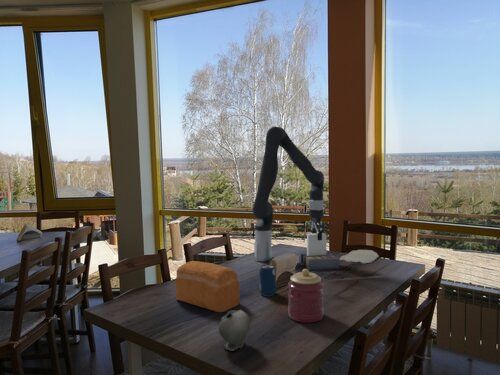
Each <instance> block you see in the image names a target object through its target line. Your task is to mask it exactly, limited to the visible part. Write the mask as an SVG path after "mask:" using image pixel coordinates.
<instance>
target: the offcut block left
mask: <svg viewBox="0 0 500 375" xmlns="http://www.w3.org/2000/svg"><path fill="white" fill-rule="evenodd" d="M315 259H322V258H320V257H319V256H312V257H306V267H307V268H308V269H309V260H315ZM306 267H305V268H306ZM307 268H306V269H307Z"/></svg>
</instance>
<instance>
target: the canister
mask: <svg viewBox="0 0 500 375" xmlns="http://www.w3.org/2000/svg"><path fill="white" fill-rule="evenodd" d="M289 280H290V281H289V282H288V283H287V286H288V289H289V290H288V292H287V295H288V307H287V313H288V318H290V319H291V320H293V321H295V322H299V323H308V324H309V323H315V322H316V323H317V322H319V321H321V320H322V319H323V317H324V313H325V312H324V296H325V294H324V292H323V288H324V283H323V282H321V281H322V277H321V276H319V275H318V274H317V273H314V272H310V270H308V269H307V268H303V269H302V271H299V272H296V273H294V274H293V275H291V276H290V278H289Z"/></svg>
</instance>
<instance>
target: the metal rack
mask: <svg viewBox="0 0 500 375" xmlns="http://www.w3.org/2000/svg"><path fill="white" fill-rule="evenodd" d="M328 255H333V256H334V254H332V253H331V254H330V252H329V251H326V255H312V256H319V257H320V256H328ZM312 256H307V252H306V253H300V264H301V265H303V266H304V267H305V269H308V268H307V267H306V257H312ZM331 269H332V270H333V269H340V257H337V258H330V259H315V260H309V269H308V270H309V271H317V270H331Z"/></svg>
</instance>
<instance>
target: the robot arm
mask: <svg viewBox="0 0 500 375" xmlns="http://www.w3.org/2000/svg"><path fill="white" fill-rule="evenodd" d="M264 146H265V148H264V152H263V153H264V154H263V158H262V163H261V168H260V172H259V173H260V175H259V180H258V186H257V192H256V195H255V199H254V202H253V205H252V214H253V216H254V217H255V218H256V219H257V221H256V223H255V226H254V239H255V240H254V243H253V244H254V260H255V261H256V262H268V261H272V260H271V259H273V258H272V257H273V256H272V252H273V251H272V227H273V222H274V221H273V220H274V210H273V209H274V208H273V206H272V203H271V202H270V201H269V198H270V195H271V192H272V190H273V188H274V185H276V181H277V177H278V172H279V161H278V154H279V148H280V147H281V148H282V149H283V150H284V152H286V154H287V155H288V157H289V158H290V160H291V161H292V163H293V164H294V166H296V167H297V168H298V170H299V171H301V173H302V175H303V176H304V177H305V178H306V180H307V181H308V182H309V183H310V185H311V187H310V190H309V204H308V206H309V208H308V209H309V210H308V213H309V215H308V217H309V229H310V230H311V234H315V233H317V239H318V240H322V233H325V229H324V227H325V225H324V220H321V219H322V218H324V216H325V210H324V205H325V203H324V185H325V176H324V173H323V172H322V171H321V170H317V169H316V168H315V167H314V166H313V164H312V162H311V160H309V158H307V156H306V155H305V154H304V153H303V152H302V151H301V150H300V148H298V147H297V145H295V143H294V142H293V141H292V139H291V138H290V136H289V135H288V133H287V132H286V130H285V129H284V128H282V127H281V126H276V125H275V126H270V128H268V129H267V131H266V134H265V145H264Z"/></svg>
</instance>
